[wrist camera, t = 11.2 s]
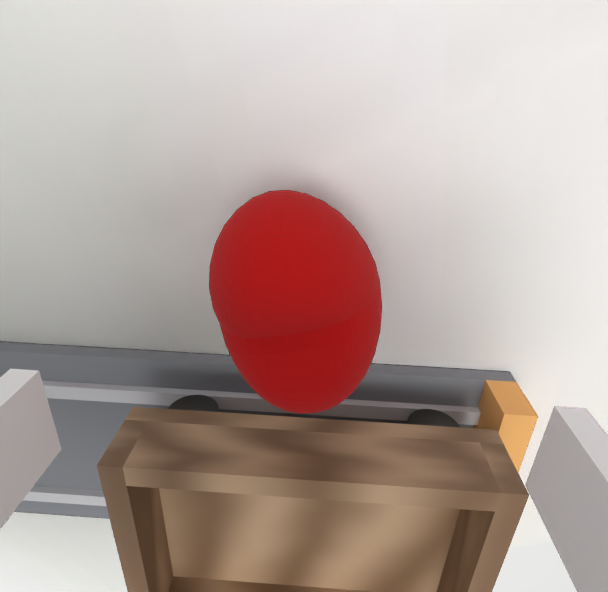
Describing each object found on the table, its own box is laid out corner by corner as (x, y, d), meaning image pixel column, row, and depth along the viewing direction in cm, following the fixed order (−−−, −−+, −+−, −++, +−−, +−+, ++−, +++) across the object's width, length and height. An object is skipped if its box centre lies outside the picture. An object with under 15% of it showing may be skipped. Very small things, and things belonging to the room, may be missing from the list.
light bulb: (379, 310, 25) (408, 434, 16) (265, 329, 26) (231, 456, 17) (354, 148, 21) (372, 191, 12) (220, 177, 22) (146, 237, 13)
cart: (176, 530, 32) (139, 638, 26) (153, 373, 26) (96, 465, 19) (436, 548, 31) (463, 664, 25) (478, 393, 25) (529, 495, 19)
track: (22, 500, 34) (-14, 548, 31) (-38, 339, 27) (-93, 376, 24) (461, 532, 33) (477, 586, 29) (509, 371, 26) (538, 416, 23)
